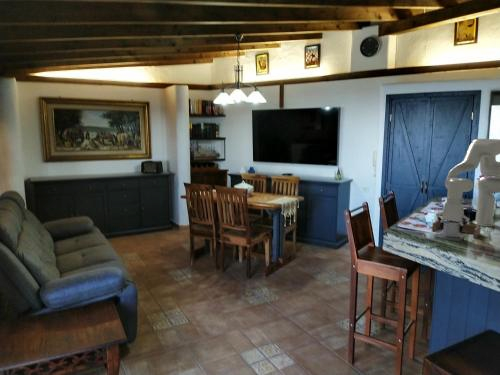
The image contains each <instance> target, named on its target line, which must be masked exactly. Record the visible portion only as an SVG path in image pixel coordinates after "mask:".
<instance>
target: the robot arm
mask: <svg viewBox="0 0 500 375" xmlns="http://www.w3.org/2000/svg"><path fill="white" fill-rule="evenodd" d="M499 155H500V139H498V138H497V139H496V138H475V139H473V140H472V141H471V143H470V144H469V146H468V148H467V150H466V152H465V154H464V157H463V160H462V161H461V162H460V163H458V164H457V165H455V166H454V167H453V168H451V169H450V170H449V172H448V174H447V176H446V179H445V182H444V187H445V188H446V189H447V193H446V194H447V196H446V202H445V203H444V207H443V211H441V212H439V213H436V214H435V216H436V218H437V220H439V221H440V222H441V223H440V228H439V229H440V230H443V222H444V221H456V222H459V223H460V224H461V225H460V229H459V232H460V233H463V232H462V231H463V225H465V224H468V222H469V221H470V219H471V218H469V217H468V216H467V215H465V214H464V203H465V200H464V199H463V194H464V192H465V193H467V192H471V190H472V189H473V188H474V182H473V180H471V179H470V178H465V177H464V178H463V177H458V175H460V174H463V173H466V172H471V171H473V170H474V171H475V170H476V169H478V167H479V168H480V169H479V170H480V171H479V172H480V174H481V175H483V176H481V177H480V178H479V179H478V183H477V187H478V188H477V189H478V190H477V191H478V195H477V202H476V203H477V204H476V213H475V220H474V219H473V220H472V224H473V225H476V226H481V227H495V225H496V223H494V222H493V219H494V211H495V202H496V197H495V195H494V194H493V193H498V194H499V193H500V161H497V158H496V157H497V156H499ZM441 216H442V218H441ZM463 220H464V221H463Z"/></svg>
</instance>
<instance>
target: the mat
mask: <svg viewBox="0 0 500 375" xmlns="http://www.w3.org/2000/svg"><path fill="white" fill-rule="evenodd" d="M442 232H443V231H442ZM442 232H440V233H439V234H438V235H437V236H436V238H438V239H442V240H449V241H454V242H461V241H462V240H463V239H464V238H465V235H461V234H460V235H459V237H445V236H443V235H442Z"/></svg>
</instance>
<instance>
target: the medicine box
mask: <svg viewBox="0 0 500 375" xmlns="http://www.w3.org/2000/svg"><path fill="white" fill-rule="evenodd" d="M460 225H461V224H460V223H459V222H456V221H449V220H444V222H443V229H442V235H443V236H445V237H459V235H460V236H461V234H460V232H459V229H460Z"/></svg>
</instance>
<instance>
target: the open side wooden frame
mask: <svg viewBox="0 0 500 375" xmlns="http://www.w3.org/2000/svg"><path fill="white" fill-rule="evenodd" d="M440 223H441V222H440V221H439V220H438V219H437V220H434V222H432V226H431V227H432V228H431V232H435V231H436V230H438V229H441V228H440ZM437 228H438V229H437ZM461 233H466V234H467V233H468V234H473V236H472V237H473V239H477V237H478V236H479V233H480V225H476V224H469V223H466V224H465V225H463V231H462V232H461Z"/></svg>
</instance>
